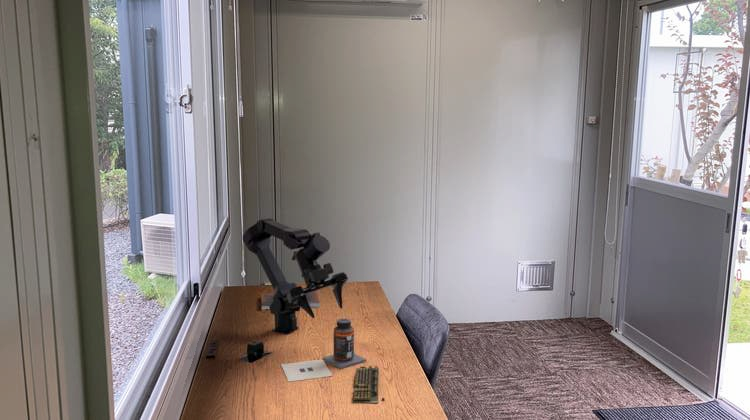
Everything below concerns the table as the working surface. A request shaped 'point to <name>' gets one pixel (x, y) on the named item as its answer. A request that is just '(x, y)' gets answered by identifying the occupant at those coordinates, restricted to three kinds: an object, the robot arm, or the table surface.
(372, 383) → the keyboard
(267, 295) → the picture frame
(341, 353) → the supplement bottle
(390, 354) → the table surface
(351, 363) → the slate coaster
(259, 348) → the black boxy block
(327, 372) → the card
